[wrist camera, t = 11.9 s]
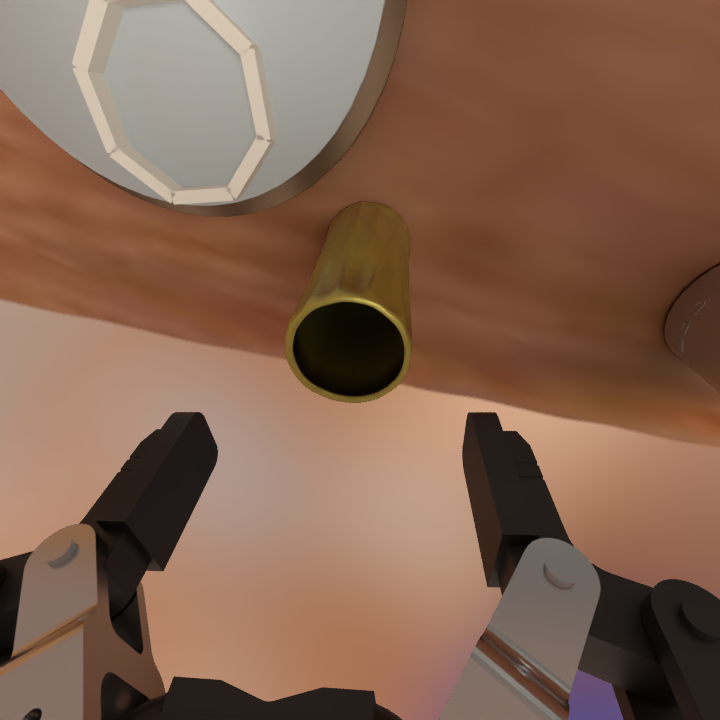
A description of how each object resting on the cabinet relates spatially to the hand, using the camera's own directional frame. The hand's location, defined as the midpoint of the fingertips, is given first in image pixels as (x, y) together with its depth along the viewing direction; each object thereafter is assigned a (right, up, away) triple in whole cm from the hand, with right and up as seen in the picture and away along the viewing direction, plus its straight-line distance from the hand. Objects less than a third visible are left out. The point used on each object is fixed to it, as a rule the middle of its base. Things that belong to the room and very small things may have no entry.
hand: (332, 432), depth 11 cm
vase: (+1, +11, +15) cm, 19 cm away
